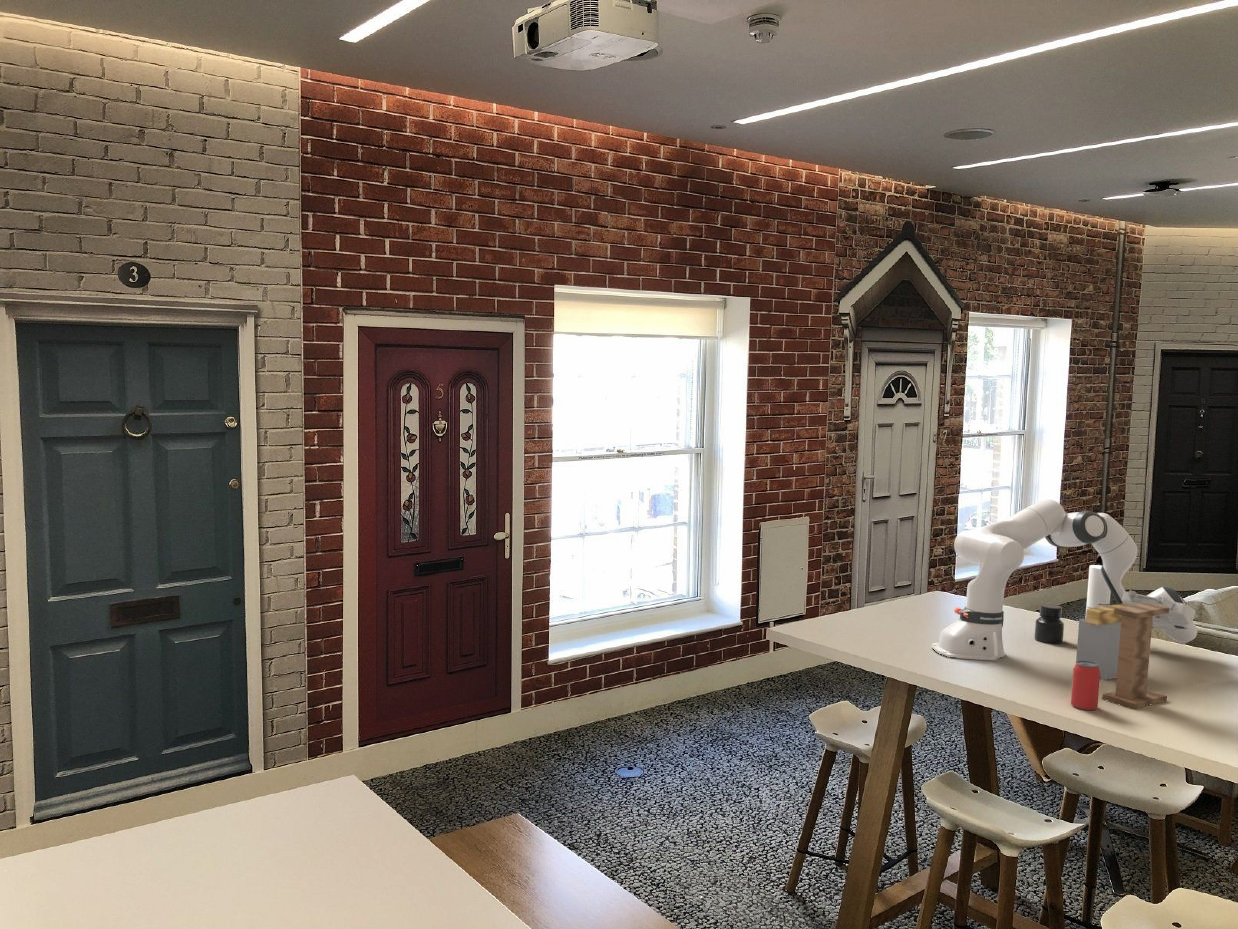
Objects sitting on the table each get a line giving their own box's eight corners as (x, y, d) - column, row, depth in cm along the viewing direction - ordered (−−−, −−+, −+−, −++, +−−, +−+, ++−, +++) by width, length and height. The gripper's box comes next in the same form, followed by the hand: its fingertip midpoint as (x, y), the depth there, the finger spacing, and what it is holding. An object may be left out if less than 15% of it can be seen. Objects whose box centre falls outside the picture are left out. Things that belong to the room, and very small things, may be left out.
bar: (1122, 616, 303) (1123, 603, 303) (1135, 618, 300) (1136, 606, 300) (1085, 622, 294) (1086, 609, 293) (1098, 625, 290) (1099, 611, 290)
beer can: (1065, 702, 267) (1069, 659, 266) (1088, 702, 268) (1092, 660, 267) (1079, 711, 261) (1082, 667, 260) (1102, 711, 261) (1106, 667, 260)
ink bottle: (1069, 643, 331) (1072, 608, 330) (1051, 645, 327) (1053, 610, 326) (1045, 636, 340) (1048, 602, 339) (1027, 638, 336) (1030, 603, 335)
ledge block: (1102, 665, 305) (1106, 614, 304) (1133, 674, 297) (1137, 622, 296) (1075, 670, 298) (1079, 619, 297) (1106, 680, 290) (1110, 627, 288)
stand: (1135, 691, 279) (1142, 602, 277) (1166, 700, 272) (1174, 608, 270) (1102, 699, 271) (1109, 607, 269) (1133, 709, 263) (1141, 614, 261)
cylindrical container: (1109, 641, 335) (1115, 569, 333) (1087, 640, 336) (1092, 568, 334) (1103, 636, 342) (1109, 566, 340) (1081, 634, 343) (1087, 564, 341)
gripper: (1137, 598, 322) (1117, 580, 315) (1201, 612, 304) (1181, 593, 297) (1130, 615, 320) (1110, 597, 314) (1193, 630, 303) (1174, 612, 296)
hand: (1145, 595), depth 305 cm, fingers open, 8 cm apart
